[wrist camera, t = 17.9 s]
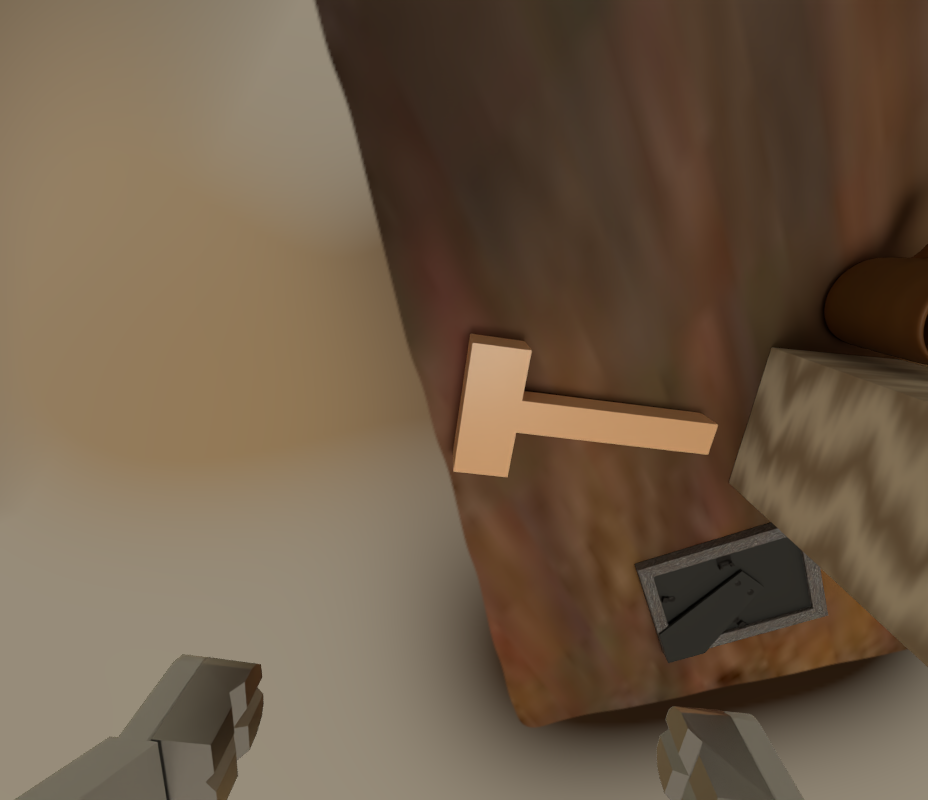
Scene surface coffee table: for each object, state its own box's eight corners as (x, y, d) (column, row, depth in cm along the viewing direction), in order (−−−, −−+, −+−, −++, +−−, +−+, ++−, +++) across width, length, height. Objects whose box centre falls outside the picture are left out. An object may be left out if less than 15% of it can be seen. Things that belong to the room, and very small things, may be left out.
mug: (864, 193, 38) (985, 179, 29) (950, 210, 39) (1096, 201, 30) (805, 336, 42) (896, 361, 33) (884, 349, 42) (995, 379, 34)
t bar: (734, 377, 40) (709, 365, 44) (472, 342, 38) (470, 333, 42) (693, 497, 44) (673, 476, 48) (453, 471, 42) (452, 452, 46)
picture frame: (661, 648, 55) (817, 604, 53) (668, 663, 53) (830, 618, 51) (632, 560, 51) (801, 509, 49) (639, 573, 49) (814, 520, 47)
